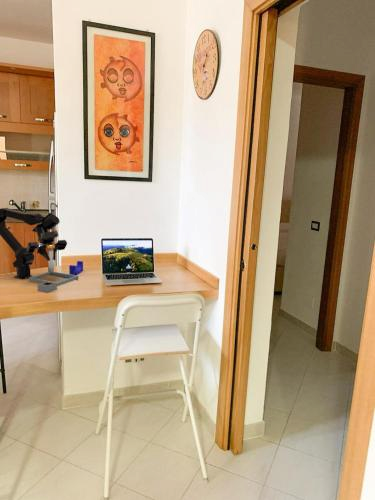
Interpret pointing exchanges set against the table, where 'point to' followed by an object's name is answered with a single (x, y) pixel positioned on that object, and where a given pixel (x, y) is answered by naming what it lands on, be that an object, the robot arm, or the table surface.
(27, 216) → the robot arm
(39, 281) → the tray
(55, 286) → the lock block
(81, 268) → the cable clip
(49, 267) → the lock pin
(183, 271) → the table surface
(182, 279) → the table surface
